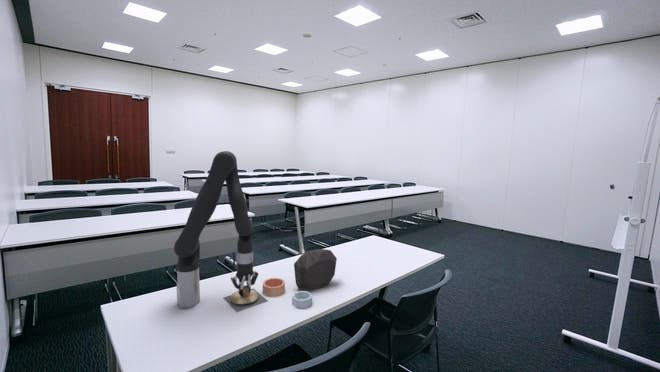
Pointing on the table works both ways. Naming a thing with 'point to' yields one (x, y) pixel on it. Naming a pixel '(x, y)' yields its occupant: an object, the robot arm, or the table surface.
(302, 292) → the small bowl
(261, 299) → the mat
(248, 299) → the lid
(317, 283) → the decorative stone
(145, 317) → the table surface
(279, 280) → the bowl
